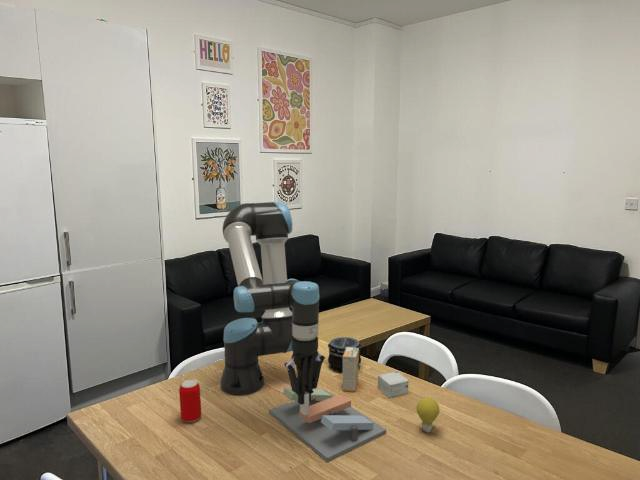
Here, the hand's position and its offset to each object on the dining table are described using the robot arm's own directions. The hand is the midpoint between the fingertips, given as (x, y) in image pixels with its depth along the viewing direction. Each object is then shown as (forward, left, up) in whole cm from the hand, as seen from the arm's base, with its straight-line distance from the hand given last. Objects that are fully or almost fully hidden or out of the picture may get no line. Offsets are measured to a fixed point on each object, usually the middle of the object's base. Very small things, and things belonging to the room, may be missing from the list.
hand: (304, 412), depth 140 cm
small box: (-2, +39, -7) cm, 39 cm away
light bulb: (+21, +30, -7) cm, 37 cm away
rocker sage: (-10, +8, -2) cm, 13 cm away
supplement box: (-13, +29, -7) cm, 33 cm away
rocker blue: (+10, +8, -2) cm, 13 cm away
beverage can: (-27, -24, -7) cm, 37 cm away
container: (-27, +37, -7) cm, 46 cm away
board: (0, +8, -6) cm, 10 cm away
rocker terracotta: (0, +8, -2) cm, 8 cm away
